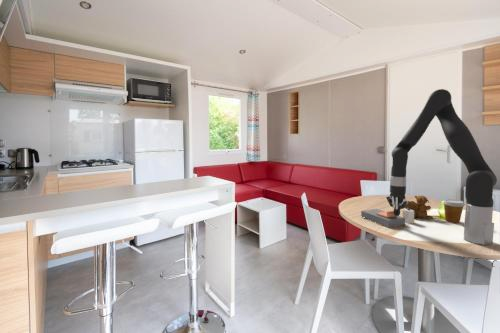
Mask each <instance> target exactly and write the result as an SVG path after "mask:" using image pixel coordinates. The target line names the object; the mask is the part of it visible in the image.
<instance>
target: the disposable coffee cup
mask: <svg viewBox="0 0 500 333" xmlns="http://www.w3.org/2000/svg"><path fill="white" fill-rule="evenodd" d="M442 204H443V206H444V207H443V209H444V210H443V211H444V219H445V222H447V223H451V224H460V222H461V218H462V213H463V209H464V206H466V203H465V202H464V201H463V200H459V199H450V198H449V199H448V198H447V199H444V200H443V201H442Z"/></svg>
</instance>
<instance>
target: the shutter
mask: <svg viewBox="0 0 500 333" xmlns="http://www.w3.org/2000/svg"><path fill="white" fill-rule="evenodd" d="M376 214H378V215H381V216H383V217H386V218H390V217H397V216H395V215H394V209H393V210H387V211H385V212H379V213H376Z"/></svg>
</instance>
